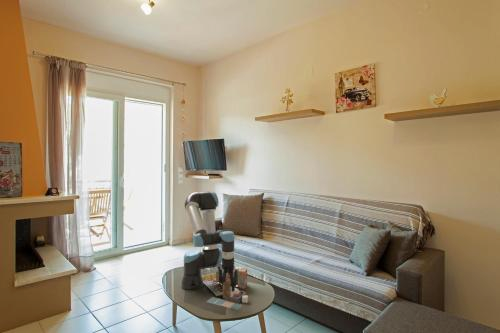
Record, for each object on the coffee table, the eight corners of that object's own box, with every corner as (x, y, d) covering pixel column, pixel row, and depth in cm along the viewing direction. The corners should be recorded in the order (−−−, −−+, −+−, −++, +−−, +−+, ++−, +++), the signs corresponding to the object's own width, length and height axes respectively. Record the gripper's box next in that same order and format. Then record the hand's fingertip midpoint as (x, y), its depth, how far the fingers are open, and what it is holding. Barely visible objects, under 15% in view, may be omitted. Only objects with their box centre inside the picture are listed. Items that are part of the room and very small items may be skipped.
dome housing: (224, 300, 183) (224, 295, 183) (232, 293, 192) (232, 288, 192) (238, 303, 178) (238, 298, 178) (245, 296, 187) (245, 291, 187)
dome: (228, 298, 183) (228, 289, 183) (233, 293, 189) (233, 285, 189) (237, 300, 180) (237, 291, 180) (242, 295, 186) (242, 287, 186)
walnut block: (223, 297, 175) (223, 282, 175) (226, 294, 179) (226, 280, 179) (229, 299, 173) (229, 284, 173) (233, 295, 177) (233, 281, 177)
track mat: (206, 302, 180) (206, 301, 180) (212, 297, 186) (212, 296, 186) (237, 310, 170) (237, 310, 170) (242, 305, 176) (242, 304, 176)
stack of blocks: (215, 285, 204) (215, 267, 204) (219, 281, 210) (219, 264, 210) (244, 289, 198) (244, 271, 197) (247, 285, 204) (247, 267, 203)
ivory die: (242, 302, 179) (242, 297, 179) (243, 300, 183) (243, 294, 182) (247, 303, 179) (247, 297, 179) (248, 300, 182) (248, 295, 182)
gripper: (212, 257, 176) (212, 295, 177) (237, 261, 168) (238, 301, 169) (219, 253, 183) (219, 289, 184) (243, 257, 175) (243, 295, 176)
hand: (228, 295), depth 176 cm, fingers closed on walnut block, 4 cm apart
